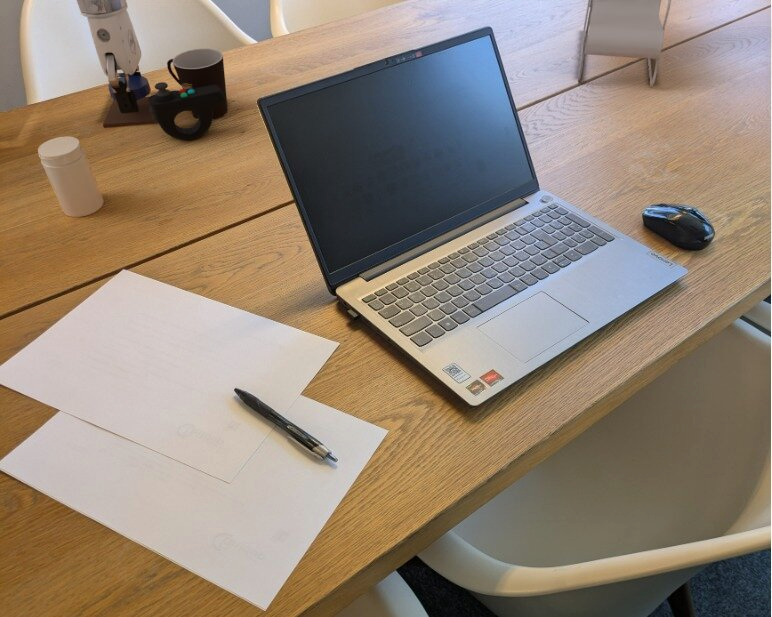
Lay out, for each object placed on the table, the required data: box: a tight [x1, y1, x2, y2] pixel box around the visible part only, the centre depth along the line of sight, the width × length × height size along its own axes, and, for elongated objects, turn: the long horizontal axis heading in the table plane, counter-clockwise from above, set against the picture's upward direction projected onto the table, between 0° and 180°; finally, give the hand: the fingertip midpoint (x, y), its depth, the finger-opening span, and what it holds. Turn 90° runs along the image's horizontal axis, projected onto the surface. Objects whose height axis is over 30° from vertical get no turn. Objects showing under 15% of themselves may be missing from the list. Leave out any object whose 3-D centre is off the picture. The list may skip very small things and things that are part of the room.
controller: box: [148, 81, 225, 141], centre depth 111 cm, size 4×12×10 cm, turn 111°
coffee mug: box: [166, 48, 229, 121], centre depth 118 cm, size 12×9×10 cm
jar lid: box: [107, 75, 152, 101], centre depth 119 cm, size 7×7×2 cm
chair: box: [577, 0, 672, 88], centre depth 124 cm, size 13×25×20 cm, turn 166°
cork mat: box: [102, 96, 158, 128], centre depth 122 cm, size 10×10×1 cm
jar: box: [37, 136, 105, 218], centre depth 97 cm, size 6×6×10 cm
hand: (133, 101), depth 121 cm, fingers closed on jar lid, 6 cm apart
